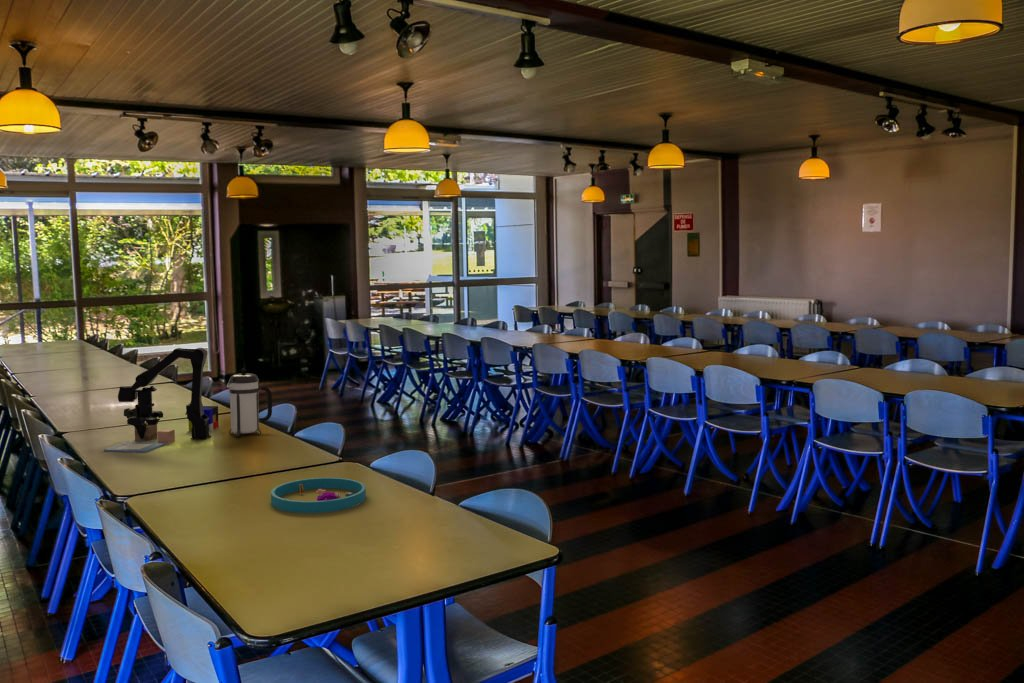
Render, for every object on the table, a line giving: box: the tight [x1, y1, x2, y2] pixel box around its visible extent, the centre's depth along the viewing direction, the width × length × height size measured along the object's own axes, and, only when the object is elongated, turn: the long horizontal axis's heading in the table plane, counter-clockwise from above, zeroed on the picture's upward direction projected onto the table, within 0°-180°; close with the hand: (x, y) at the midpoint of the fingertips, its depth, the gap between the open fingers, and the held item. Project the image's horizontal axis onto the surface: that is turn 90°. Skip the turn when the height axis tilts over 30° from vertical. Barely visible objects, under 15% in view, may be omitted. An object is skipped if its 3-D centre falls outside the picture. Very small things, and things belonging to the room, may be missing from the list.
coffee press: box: [226, 367, 273, 438], centre depth 372 cm, size 17×16×30 cm
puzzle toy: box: [188, 405, 220, 432], centre depth 384 cm, size 10×10×10 cm
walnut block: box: [134, 424, 158, 442], centre depth 360 cm, size 6×6×6 cm
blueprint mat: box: [103, 440, 168, 454], centre depth 344 cm, size 18×16×1 cm
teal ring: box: [270, 477, 367, 514], centre depth 269 cm, size 30×30×6 cm
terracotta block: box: [157, 428, 176, 444], centre depth 356 cm, size 5×5×5 cm
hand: (146, 437), depth 361 cm, fingers closed on walnut block, 6 cm apart
